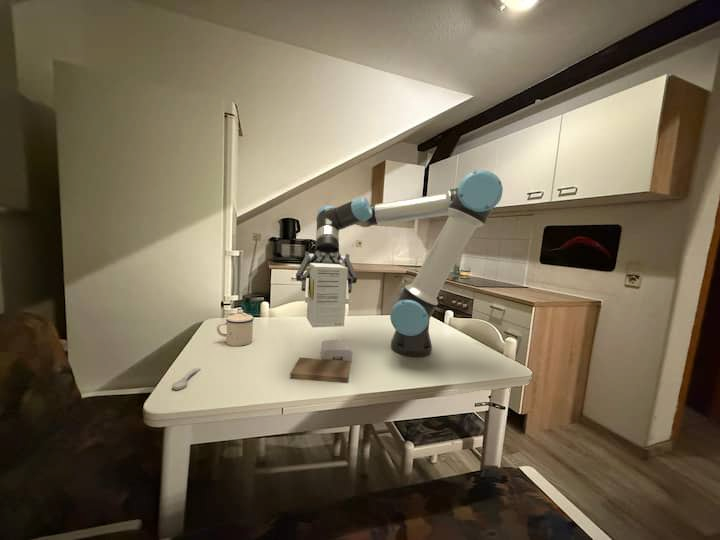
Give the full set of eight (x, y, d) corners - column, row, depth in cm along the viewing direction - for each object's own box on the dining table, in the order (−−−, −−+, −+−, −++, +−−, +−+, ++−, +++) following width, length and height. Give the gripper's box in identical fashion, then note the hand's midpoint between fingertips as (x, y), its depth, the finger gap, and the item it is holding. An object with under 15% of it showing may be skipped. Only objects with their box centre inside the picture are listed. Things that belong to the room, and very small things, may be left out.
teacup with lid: (253, 337, 110) (254, 307, 109) (252, 346, 102) (253, 313, 101) (218, 338, 106) (219, 307, 105) (214, 347, 98) (215, 314, 97)
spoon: (169, 392, 70) (169, 383, 70) (191, 373, 82) (192, 366, 82) (182, 392, 70) (182, 384, 70) (203, 373, 82) (203, 366, 82)
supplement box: (305, 318, 87) (308, 262, 85) (335, 317, 90) (338, 263, 89) (312, 328, 78) (315, 266, 76) (344, 326, 81) (348, 267, 80)
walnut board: (349, 365, 91) (350, 361, 91) (347, 382, 80) (348, 377, 80) (299, 362, 91) (299, 357, 91) (290, 378, 80) (290, 373, 80)
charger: (345, 346, 107) (351, 364, 93) (320, 347, 106) (322, 364, 91) (346, 334, 107) (352, 349, 92) (321, 334, 105) (323, 350, 91)
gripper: (360, 253, 99) (365, 308, 85) (291, 248, 95) (284, 306, 82) (364, 237, 93) (369, 294, 80) (290, 232, 90) (283, 291, 76)
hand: (326, 300), depth 81 cm, fingers closed on supplement box, 10 cm apart
